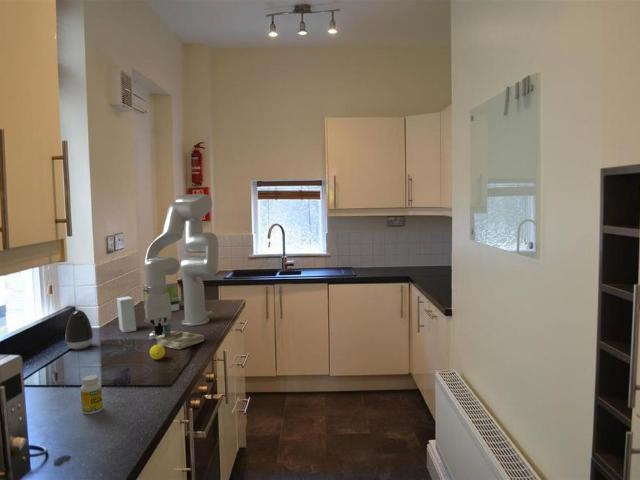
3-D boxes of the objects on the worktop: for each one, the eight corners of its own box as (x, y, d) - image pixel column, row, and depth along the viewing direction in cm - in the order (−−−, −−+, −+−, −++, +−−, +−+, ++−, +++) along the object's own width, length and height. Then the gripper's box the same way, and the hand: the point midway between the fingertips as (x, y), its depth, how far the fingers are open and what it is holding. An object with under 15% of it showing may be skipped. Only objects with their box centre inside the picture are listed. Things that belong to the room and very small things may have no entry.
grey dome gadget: (72, 353, 195) (69, 314, 194) (62, 348, 202) (59, 311, 201) (98, 346, 203) (96, 309, 201) (87, 342, 210) (85, 306, 208)
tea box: (170, 307, 272) (169, 280, 270) (179, 310, 264) (178, 282, 263) (143, 312, 261) (142, 284, 260) (152, 315, 254) (150, 286, 253)
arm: (147, 343, 205) (146, 326, 204) (172, 335, 216) (171, 319, 215) (179, 349, 195) (178, 332, 194) (204, 340, 206) (203, 324, 205)
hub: (156, 336, 216) (155, 328, 215) (163, 337, 213) (163, 330, 213) (146, 339, 212) (146, 331, 211) (154, 340, 209) (153, 333, 209)
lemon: (150, 358, 188) (149, 344, 188) (165, 356, 189) (164, 342, 189) (149, 362, 181) (148, 346, 181) (165, 360, 182) (164, 345, 183)
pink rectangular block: (170, 337, 213) (170, 330, 213) (177, 338, 211) (176, 331, 211) (166, 338, 211) (165, 331, 211) (172, 340, 209) (172, 333, 209)
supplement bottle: (93, 405, 145) (91, 373, 144) (107, 408, 143) (105, 375, 142) (77, 412, 140) (75, 379, 139) (91, 416, 138) (88, 382, 137)
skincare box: (136, 330, 226) (134, 298, 224) (122, 333, 222) (120, 300, 221) (132, 327, 233) (130, 295, 231) (118, 329, 229) (116, 297, 228)
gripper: (140, 293, 196) (142, 340, 198) (177, 289, 205) (180, 333, 206) (135, 291, 203) (137, 336, 204) (171, 286, 211) (174, 329, 213)
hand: (158, 334), depth 205 cm, fingers closed
